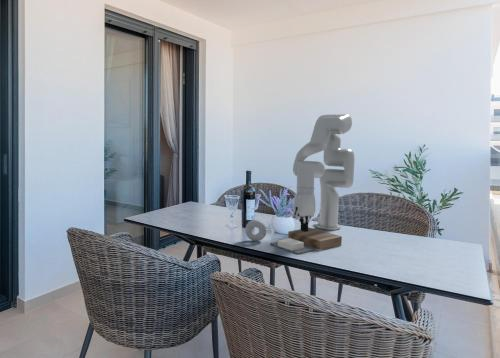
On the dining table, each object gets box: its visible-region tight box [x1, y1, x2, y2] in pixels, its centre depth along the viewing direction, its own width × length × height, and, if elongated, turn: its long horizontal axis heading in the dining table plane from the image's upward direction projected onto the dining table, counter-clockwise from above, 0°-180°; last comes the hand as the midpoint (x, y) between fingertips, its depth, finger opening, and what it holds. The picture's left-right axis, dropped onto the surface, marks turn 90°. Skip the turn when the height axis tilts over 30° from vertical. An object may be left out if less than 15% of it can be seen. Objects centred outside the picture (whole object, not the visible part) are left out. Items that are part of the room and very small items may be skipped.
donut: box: [244, 219, 267, 242], centre depth 174 cm, size 10×4×10 cm, turn 80°
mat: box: [269, 241, 318, 255], centre depth 165 cm, size 18×11×1 cm, turn 37°
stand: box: [287, 227, 343, 251], centre depth 173 cm, size 20×14×4 cm
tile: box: [277, 237, 304, 251], centre depth 164 cm, size 9×7×2 cm
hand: (304, 230), depth 169 cm, fingers closed
